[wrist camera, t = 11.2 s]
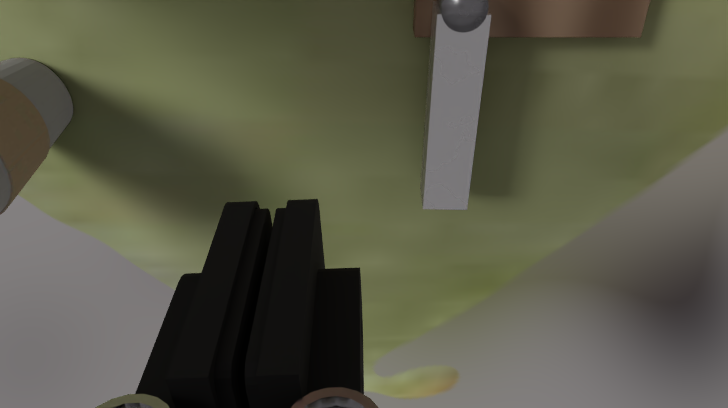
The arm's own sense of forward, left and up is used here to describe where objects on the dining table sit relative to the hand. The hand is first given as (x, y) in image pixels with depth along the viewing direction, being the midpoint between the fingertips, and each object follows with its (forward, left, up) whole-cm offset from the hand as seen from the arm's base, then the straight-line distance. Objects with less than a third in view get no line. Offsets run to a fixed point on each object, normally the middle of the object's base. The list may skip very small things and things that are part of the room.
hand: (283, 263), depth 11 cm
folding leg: (+7, -7, -27) cm, 28 cm away
